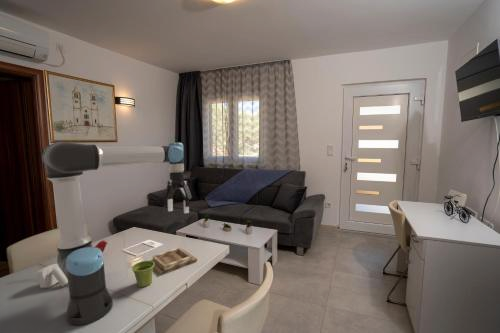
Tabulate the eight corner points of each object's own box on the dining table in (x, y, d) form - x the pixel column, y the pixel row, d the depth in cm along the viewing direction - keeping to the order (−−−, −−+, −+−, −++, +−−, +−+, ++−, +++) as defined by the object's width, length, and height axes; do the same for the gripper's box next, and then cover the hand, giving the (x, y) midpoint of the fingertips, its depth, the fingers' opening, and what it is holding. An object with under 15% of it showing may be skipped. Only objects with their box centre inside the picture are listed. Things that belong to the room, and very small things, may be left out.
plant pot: (145, 291, 109) (144, 272, 108) (128, 287, 112) (127, 269, 111) (160, 279, 118) (158, 261, 117) (143, 276, 121) (142, 259, 120)
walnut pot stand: (160, 275, 122) (159, 268, 122) (148, 263, 134) (147, 257, 134) (197, 261, 135) (196, 255, 135) (183, 251, 147) (183, 246, 147)
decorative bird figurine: (109, 257, 143) (108, 240, 142) (71, 267, 132) (69, 249, 131) (108, 255, 145) (107, 238, 144) (71, 265, 134) (69, 247, 133)
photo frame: (163, 243, 158) (136, 255, 143) (163, 245, 158) (136, 257, 143) (149, 239, 166) (122, 249, 151) (149, 240, 166) (122, 251, 151)
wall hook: (60, 290, 111) (53, 268, 110) (42, 293, 113) (35, 272, 112) (76, 280, 118) (69, 260, 118) (59, 283, 121) (52, 263, 120)
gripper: (198, 171, 130) (199, 212, 130) (168, 172, 145) (170, 209, 145) (186, 171, 124) (187, 215, 124) (157, 172, 139) (158, 211, 139)
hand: (178, 212), depth 134 cm, fingers open, 13 cm apart
